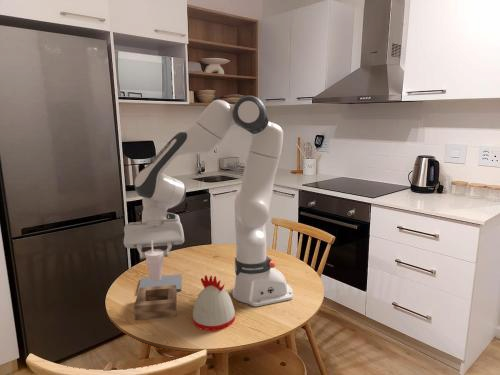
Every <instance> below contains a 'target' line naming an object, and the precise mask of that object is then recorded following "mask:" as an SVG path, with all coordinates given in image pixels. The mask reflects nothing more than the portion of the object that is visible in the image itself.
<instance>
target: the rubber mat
mask: <svg viewBox="0 0 500 375" xmlns="http://www.w3.org/2000/svg"><path fill="white" fill-rule="evenodd" d="M139 281H140V282H139V285H138V288H137V294H136V295H138V291H139V288H143V287H155V286H167V285H176V292H182V273H181V274H170V275H161V280H159V281H151V280H150V276H145V277H144V276H142V277H141V278H140V280H139Z"/></svg>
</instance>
